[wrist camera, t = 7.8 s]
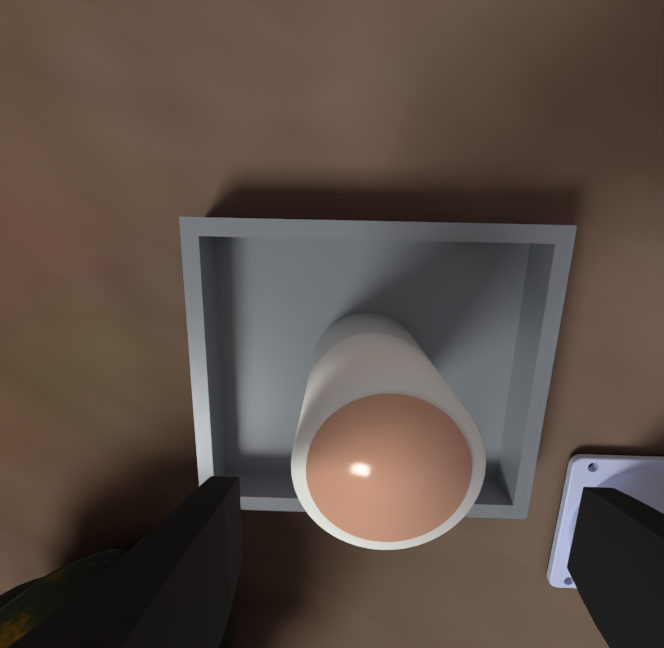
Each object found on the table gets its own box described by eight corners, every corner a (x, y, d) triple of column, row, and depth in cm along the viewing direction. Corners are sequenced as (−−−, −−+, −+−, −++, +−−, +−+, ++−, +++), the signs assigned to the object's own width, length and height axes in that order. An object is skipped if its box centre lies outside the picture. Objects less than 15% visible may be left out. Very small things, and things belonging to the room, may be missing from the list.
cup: (424, 314, 17) (501, 384, 9) (414, 415, 18) (475, 559, 10) (313, 309, 17) (290, 376, 9) (311, 411, 18) (289, 550, 10)
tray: (541, 226, 16) (577, 225, 14) (503, 483, 19) (526, 519, 17) (202, 219, 16) (178, 216, 14) (217, 474, 20) (200, 508, 17)
